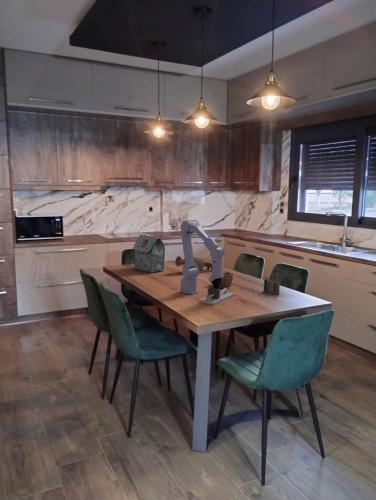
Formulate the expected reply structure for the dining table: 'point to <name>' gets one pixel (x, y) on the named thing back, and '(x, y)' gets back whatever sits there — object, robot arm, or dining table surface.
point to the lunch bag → (149, 253)
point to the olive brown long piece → (198, 261)
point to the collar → (214, 292)
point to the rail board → (223, 296)
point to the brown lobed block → (226, 280)
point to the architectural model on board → (271, 286)
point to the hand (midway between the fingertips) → (216, 291)
